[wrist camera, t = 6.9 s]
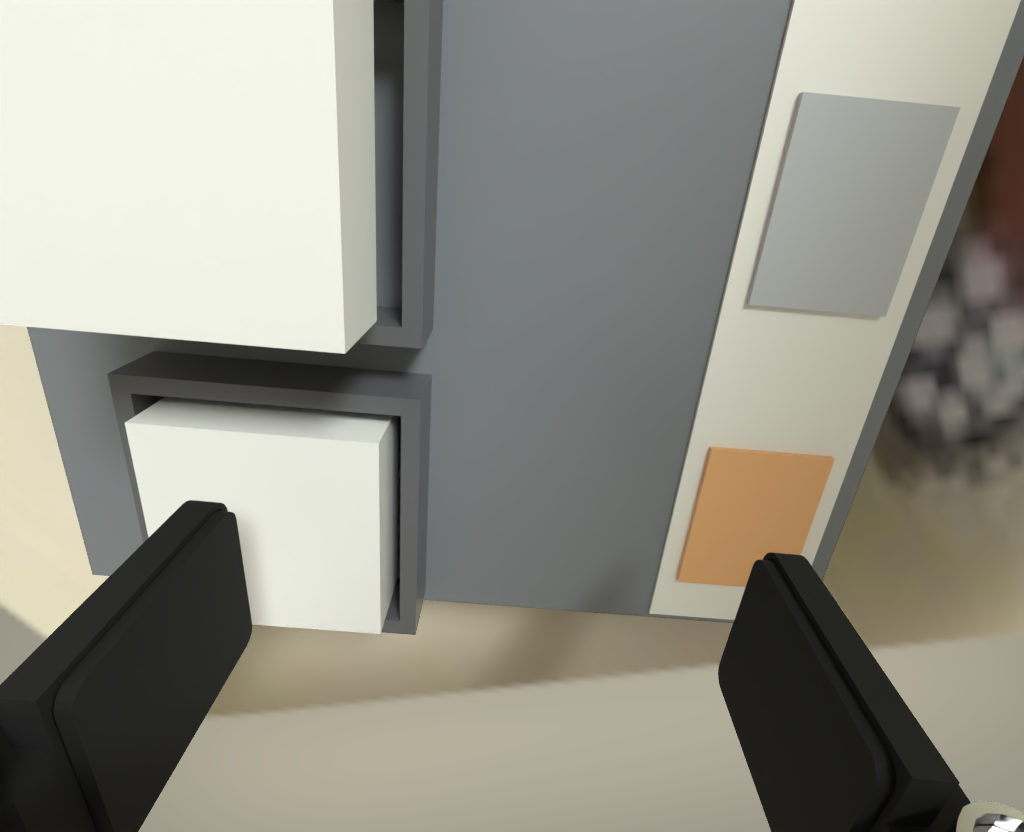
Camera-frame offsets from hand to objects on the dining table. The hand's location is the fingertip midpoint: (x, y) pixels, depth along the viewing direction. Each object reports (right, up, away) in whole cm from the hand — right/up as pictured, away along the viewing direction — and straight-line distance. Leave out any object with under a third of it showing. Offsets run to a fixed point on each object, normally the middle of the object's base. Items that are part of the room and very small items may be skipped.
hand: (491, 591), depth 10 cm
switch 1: (-4, +7, -1) cm, 9 cm away
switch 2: (-5, +1, +4) cm, 6 cm away
